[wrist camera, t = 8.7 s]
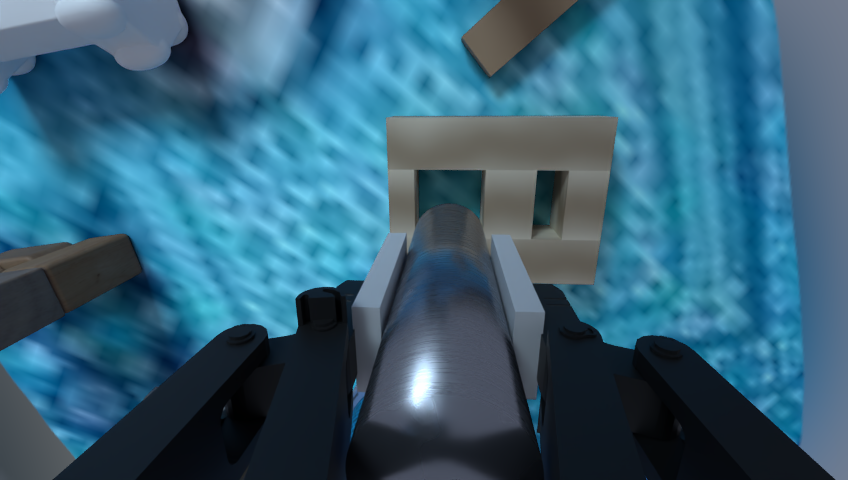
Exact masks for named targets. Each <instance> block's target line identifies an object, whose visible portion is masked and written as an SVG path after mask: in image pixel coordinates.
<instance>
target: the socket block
mask: <svg viewBox="0 0 848 480" xmlns="http://www.w3.org/2000/svg"><path fill="white" fill-rule="evenodd" d="M617 122H618V117H608V116H393V117H388V118H386V126H387V156H388V186H389V216H390V233H407V254H408V250H409V247H410V244H411V240H412V237H413V234H414V231H415V227H416V224H417V222H418V220H419V170H482V178H481V202H480V222H481V224H482V227H483V230H484V234H485V238H486V242H487V246H488V250H489V254H490V256H491V237H492V234H493V235H510V236H511V238H512V240H513V242H514V245H515V247H516V249H517V251H518V253H519V256H520V258H521V260H522V262H523V265H524V267H525V269H526V271H527V273H528V276H529V278H530V280H531V282H532V283H546V284H588V285H594V280H595V273H596V266H597V259H598V252H599V246H600V239H601V232H602V225H603V218H604V211H605V204H606V198H607V191H608V184H609V177H610V170H611V163H612V156H613V150H614V143H615V136H616V129H617ZM537 170H547V171H555V176H554V186H553V195H552V205H551V215H550V225H532V224H533V213H534V201H535V190H536V178H537Z"/></svg>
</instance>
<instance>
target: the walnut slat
mask: <svg viewBox="0 0 848 480" xmlns="http://www.w3.org/2000/svg"><path fill="white" fill-rule="evenodd" d="M577 1H578V0H501V1H500V2H499V3H498V4H497V5H496V6H495V7H494V8H492V9H491V10H490V11H489V12H488V13H487V14H486V15H485V16H484V17H483V18H482V19H481V20H479V21H478V22H477V23H476V24H475V25H474V26H473V27H472V28H471V29H470V30H469V31H468V32H467V33H465V34H464V35H463V36H462V39H461V41H462V42H463V44H464V45H465V46H466V48H467V49H468V50H469V52H470V53H471V54H472V56H473V57H474V58H475V60H476V61H477V62H478V64H479V65H480V66H481V68H482V69H483V70H484V72H485V73H486V74H487V76H488V77H489V78H490V77H491V76H492V75H493V74H494V73H495V72H496V71H498V70H499V69H500V68H501V67H502V66H503V65H504V64H506V63H507V62H508V61H509V60H510V59H511V58H513V57H514V56H515V55H516V54H517V53H518V52H519V51H521V50H522V49H523V48H524V47H525V46H526V45H527V44H529V43H530V42H531V41H532V40H533V39H534V38H535V37H537V36H538V35H539V34H540V33H541V32H542V31H543V30H545V29H546V28H547V27H548V26H549V25H550V24H551V23H553V22H554V21H555V20H556V19H557V18H558V17H559V16H561V15H562V14H563V13H564V12H565V11H566V10H567V9H569V8H570V7H571V6H572V5H573V4H574V3H575V2H577Z"/></svg>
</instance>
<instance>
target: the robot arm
mask: <svg viewBox="0 0 848 480" xmlns="http://www.w3.org/2000/svg"><path fill="white" fill-rule="evenodd" d="M406 257H407V233H388V235H387V237H386V239H385V241H384V243H383V245H382V247H381V249H380V251H379V253H378V255H377V257H376V259H375V261H374V263H373V265H372V267H371V269H370V271H369V273H368V275H367V277H366V279H365V281H354V280H347V281H345V282H343V283H342V284H340V285H339V286H337V288H334V287H320V288H313V289H310V290H307V291H305V292H303V293H301V294H299V295H298V296H297V297H296V299H295V300H296V309H297V317H298V329H297V332H296V334H293V335H289V336H283V337H277V338H270V339H268V333H267V329H266V328H264V327H263V326H261V325H256V324H242V325H240V326H239V325H237V326H234V327H232V328H230V329H227V330H225V331H223V332H222V333H220V334H219V335H217V336H216V337H215V338H214V339H213V340H211V341H210V342H209V343H208V344H207V345H206V346H205V347H203V348H202V349H201V350H200V351H199V352H198V353H197V354H195V355H194V356H193V357H192V358H191V359H190V360H189V361H187V362H186V363H185V364H184V365H183V366H182V367H181V368H179V369H178V370H177V371H176V372H175V373H174V374H173V375H172V376H170V377H169V378H168V379H167V380H166V381H165V382H164V383H162V384H161V385H160V386H159V387H158V388H157V389H156V390H154V391H153V392H152V393H151V394H150V395H149V396H148V397H146V398H145V399H144V400H143V401H142V402H141V403H140V404H138V405H137V406H136V407H135V408H134V409H133V410H132V411H131V412H129V413H128V414H127V415H126V416H125V417H124V418H123V419H121V420H120V421H119V422H118V423H117V424H116V425H115V426H113V427H112V428H111V429H110V430H109V431H108V432H107V433H105V434H104V435H103V436H102V437H101V438H100V439H99V440H97V441H96V442H95V443H94V444H93V445H92V446H91V447H90V448H88V449H87V450H86V451H85V452H84V453H83V454H82V455H80V456H79V457H78V458H77V459H76V460H75V461H74V462H73V463H71V464H70V465H69V466H68V467H67V468H66V469H64V470H63V471H62V472H61V473H60V474H59V475H58V476H57V477H55V478H54V479H53V480H240V478H241V477H242V475H243V473H244V472H245V470H246V469H247V467H248V466H249V467H248V470H247V473H246V475H245V478H244V480H347V479H346V473H345V462H346V456H347V452H348V448H349V445H350V440H351V427H352V414H353V385H354V382H355V379H356V380H357V392H366V389H367V386H368V382H369V379H370V376H371V372H372V369H373V366H374V362H375V359H376V356H377V353H378V349H379V346H380V343H381V339H382V336H383V333H384V329H385V326H386V323H387V320H388V316H389V313H390V310H391V306H392V303H393V300H394V296H395V293H396V290H397V287H398V283H399V280H400V277H401V273H402V270H403V267H404V264H405V260H406ZM490 258H491V262H492V265H493V269H494V273H495V277H496V281H497V285H498V289H499V293H500V297H501V301H502V305H503V309H504V313H505V317H506V321H507V325H508V328H509V332H510V336H511V340H512V344H513V348H514V352H515V356H516V360H517V364H518V368H519V372H520V376H521V380H522V384H523V388H524V391H525V395H526V399H535V400H536V395H537V386H538V385H539V389H540V392H541V400H540V409H539V418H538V427H537V433H540V444H541V458H542V462H543V468H544V480H646V478H647V479H648V480H835V479H834V478H833V477H832V476H831V475H830V474H828V473H827V472H826V471H825V470H824V469H823V468H822V467H821V466H820V465H819V464H818V463H816V462H815V461H814V460H813V459H812V458H811V457H810V456H809V455H808V454H807V453H806V452H804V451H803V450H802V449H801V448H800V447H799V446H798V445H797V444H796V443H795V442H793V441H792V440H791V439H790V438H789V437H788V436H787V435H786V434H785V433H784V432H783V431H781V430H780V429H779V428H778V427H777V426H776V425H775V424H774V423H773V422H772V421H770V420H769V419H768V418H767V417H766V416H765V415H764V414H763V413H762V412H761V411H760V410H758V409H757V408H756V407H755V406H754V405H753V404H752V403H751V402H750V401H749V400H747V399H746V398H745V397H744V396H743V395H742V394H741V393H740V392H739V391H738V390H737V389H735V388H734V387H733V386H732V385H731V384H730V383H729V382H728V381H727V380H726V379H724V378H723V377H722V376H721V375H720V374H719V373H718V372H717V371H716V370H715V369H714V368H712V367H711V366H710V365H709V364H708V363H707V362H706V361H705V360H704V359H703V358H701V357H700V356H699V355H698V354H697V353H696V352H695V351H694V350H692V349H691V348H690V347H688V346H687V345H685V344H683V343H681V342H679V341H676V340H675V339H672V338H669V337H668V338H667V337H665V336H653V335H651V336H643V337H641V338H639V339H637V342H636V346H635V350H633V349H628V348H623V347H618V346H614V345H610V344H607V343H604V342H603V340H602V336H601V335H600V333H599V332H598V330H596V329H595V328H594V327H592V326H591V325H588V324H586V323H583V322H580V320H579V319H578V317H577V315H576V314H575V312H574V310H573V309H572V307H571V306H570V304H569V302H568V300H566V297H565V295H564V293H563V292H562V291H561V290H560V289H558V288H557V287H555V286H554V285H552V284H532V282H531V280H530V278H529V276H528V273H527V271H526V269H525V267H524V265H523V262H522V260H521V258H520V256H519V253H518V251H517V249H516V247H515V245H514V242H513V240H512V238H511V236H510V235H493V234H492V237H491V256H490ZM224 407H225V409H224ZM223 409H224V410H223ZM681 427H682V428H681ZM645 476H646V477H645Z"/></svg>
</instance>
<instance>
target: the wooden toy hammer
mask: <svg viewBox="0 0 848 480" xmlns="http://www.w3.org/2000/svg"><path fill="white" fill-rule="evenodd" d="M141 272H142V268H141V266H140V264H139V261H138V259H137V256H136V254H135V251H134V249H133V247H132V244H131V242H130V239H129V237H128V236H127V235H126V234H117V235H110V236H103V237H96V238H89V239H87V240H84V241H81V242H79V243H76V244H73V245H72V244H70V243H68V242H62V243H55V244H48V245H41V246H34V247H27V248H21V249H14V250H10V251H7V252H4V253H1V254H0V351H1V350H3V349H5V348H7V347H8V346H10V345H12V344H14V343H16V342H18V341H19V340H21V339H23V338H25V337H27V336H29V335H30V334H32V333H34V332H36V331H38V330H39V329H41V328H43V327H45V326H47V325H49V324H50V323H52V322H54V321H56V320H58V319H60V318H61V317H63V316H64V315H65V313H68V312H70V311H72V310H74V309H76V308H78V307H79V306H81V305H83V304H85V303H87V302H89V301H90V300H92V299H94V298H96V297H98V296H100V295H101V294H103V293H105V292H107V291H109V290H111V289H112V288H114V287H116V286H118V285H120V284H122V283H123V282H125V281H127V280H129V279H131V278H133V277H134V276H136V275H138V274H140V273H141Z"/></svg>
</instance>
